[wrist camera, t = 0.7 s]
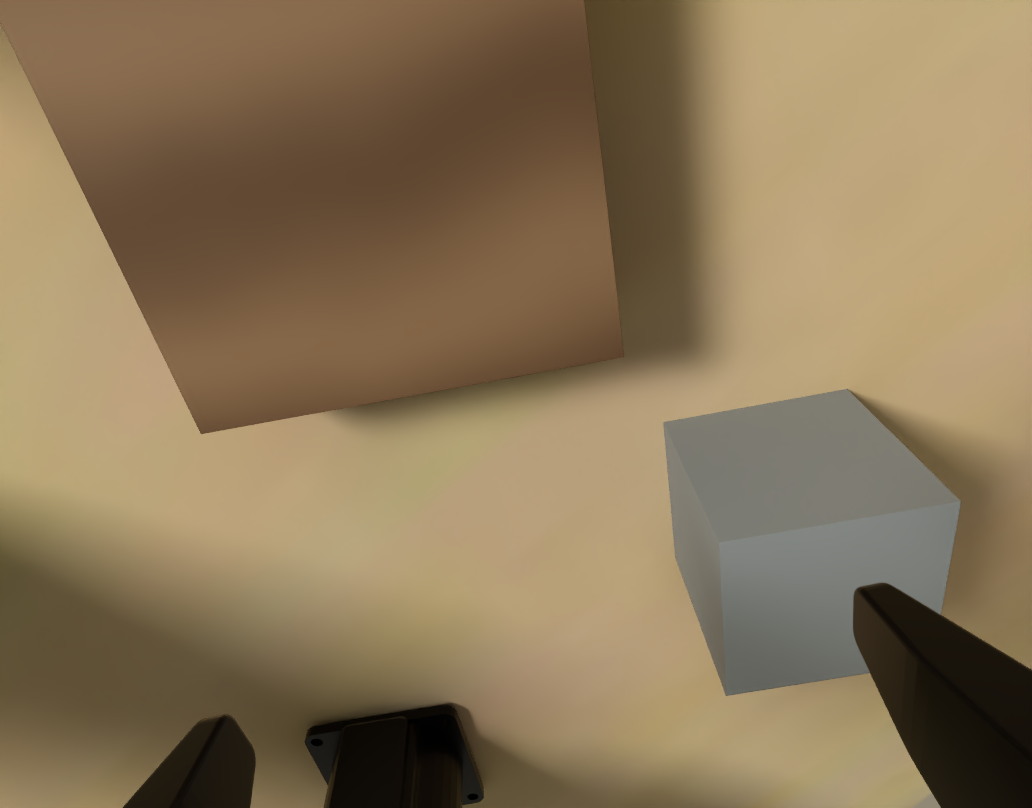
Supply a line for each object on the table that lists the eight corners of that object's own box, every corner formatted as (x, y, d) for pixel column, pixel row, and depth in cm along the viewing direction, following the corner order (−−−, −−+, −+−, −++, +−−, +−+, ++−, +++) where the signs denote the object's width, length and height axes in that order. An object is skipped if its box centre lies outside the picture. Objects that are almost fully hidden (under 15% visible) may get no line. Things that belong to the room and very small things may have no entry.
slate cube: (836, 528, 25) (932, 662, 20) (674, 556, 25) (726, 695, 20) (846, 388, 22) (961, 501, 17) (662, 420, 22) (719, 542, 17)
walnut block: (599, 300, 20) (624, 357, 17) (247, 365, 21) (201, 434, 17) (541, -160, 15) (559, -218, 11) (69, -57, 15) (-51, -82, 12)
